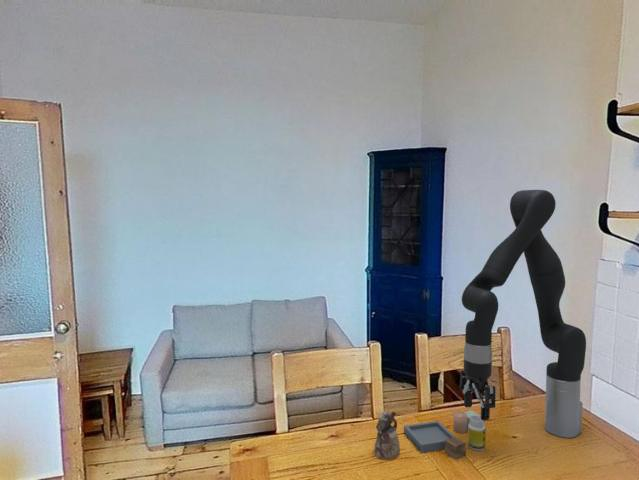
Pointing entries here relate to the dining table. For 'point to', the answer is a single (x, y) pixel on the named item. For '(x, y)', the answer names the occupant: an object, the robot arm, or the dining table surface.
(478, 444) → the supplement bottle
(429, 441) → the tray
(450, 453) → the walnut block
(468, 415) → the sage block
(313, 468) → the dining table surface
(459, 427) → the pink rounded capsule
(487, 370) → the robot arm
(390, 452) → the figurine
